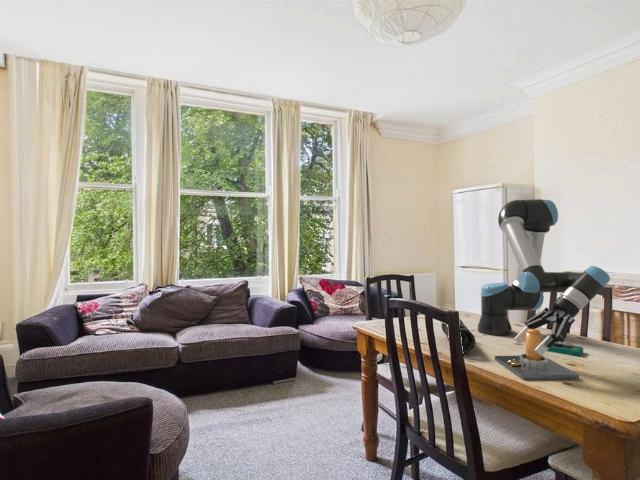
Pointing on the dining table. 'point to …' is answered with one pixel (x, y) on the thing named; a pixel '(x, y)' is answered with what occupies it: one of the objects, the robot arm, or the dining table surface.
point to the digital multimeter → (566, 349)
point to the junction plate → (536, 368)
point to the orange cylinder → (533, 344)
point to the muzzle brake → (463, 336)
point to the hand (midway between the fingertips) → (526, 347)
